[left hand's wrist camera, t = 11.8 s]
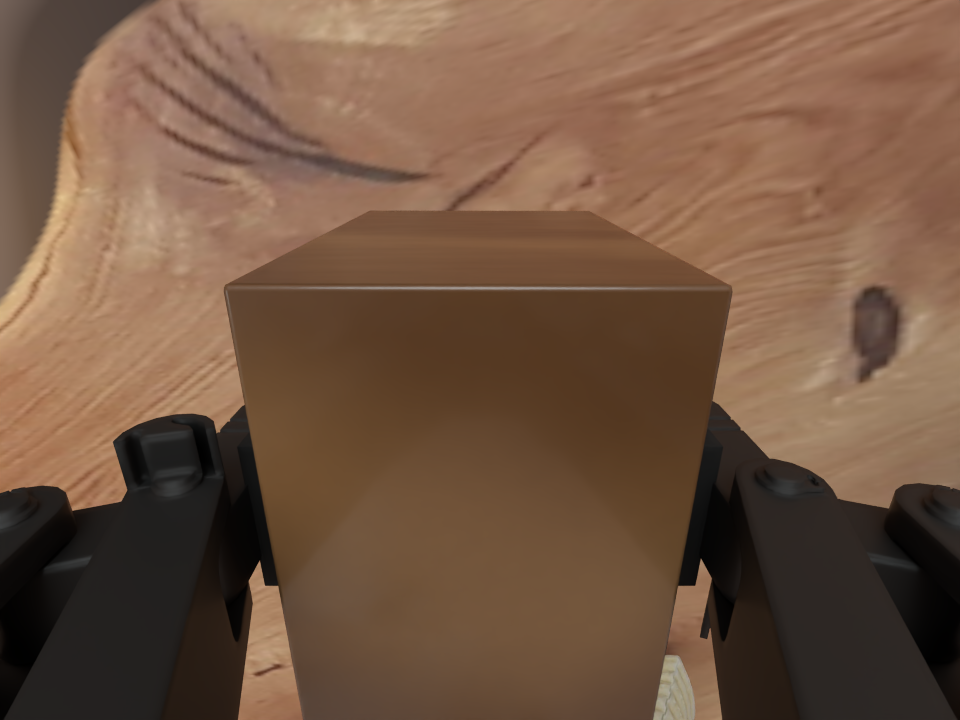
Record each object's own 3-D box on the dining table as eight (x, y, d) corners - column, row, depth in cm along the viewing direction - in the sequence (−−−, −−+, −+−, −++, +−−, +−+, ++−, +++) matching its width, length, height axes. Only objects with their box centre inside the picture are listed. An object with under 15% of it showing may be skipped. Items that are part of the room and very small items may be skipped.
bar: (367, 210, 13) (219, 284, 6) (591, 210, 13) (736, 285, 6) (410, 776, 22) (373, 1107, 14) (547, 777, 22) (582, 1107, 14)
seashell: (547, 742, 39) (590, 740, 33) (591, 639, 45) (635, 621, 38) (640, 817, 38) (702, 829, 32) (674, 702, 43) (733, 694, 37)
